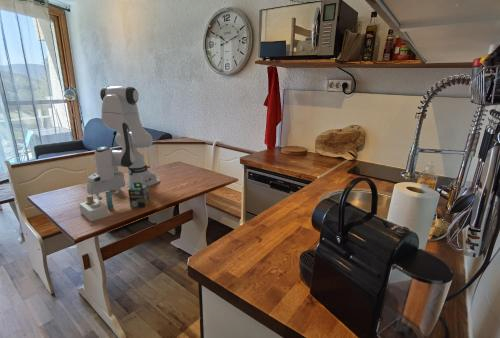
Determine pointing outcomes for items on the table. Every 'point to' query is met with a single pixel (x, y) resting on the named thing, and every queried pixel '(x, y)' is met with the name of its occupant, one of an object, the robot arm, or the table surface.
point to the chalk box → (139, 195)
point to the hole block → (94, 210)
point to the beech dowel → (90, 200)
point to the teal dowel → (109, 199)
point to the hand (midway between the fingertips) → (108, 197)
